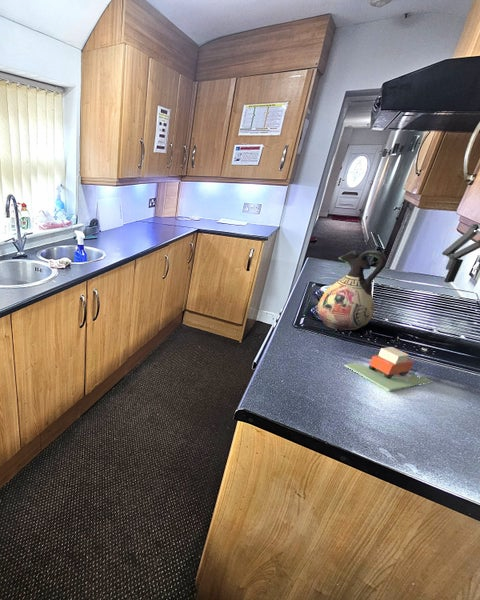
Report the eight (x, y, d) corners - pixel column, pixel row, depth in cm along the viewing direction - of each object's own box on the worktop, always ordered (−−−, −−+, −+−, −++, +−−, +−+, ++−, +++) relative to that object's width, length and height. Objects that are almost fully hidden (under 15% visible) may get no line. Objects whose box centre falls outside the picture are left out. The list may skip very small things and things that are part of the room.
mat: (384, 359, 100) (385, 357, 99) (432, 383, 89) (433, 381, 89) (343, 366, 96) (344, 364, 96) (388, 391, 85) (389, 389, 85)
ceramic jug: (304, 325, 121) (328, 246, 109) (323, 315, 128) (348, 240, 116) (359, 345, 108) (394, 258, 96) (377, 332, 115) (411, 250, 103)
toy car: (386, 379, 89) (395, 357, 86) (367, 369, 93) (375, 348, 91) (407, 375, 91) (417, 354, 88) (387, 365, 95) (397, 345, 93)
